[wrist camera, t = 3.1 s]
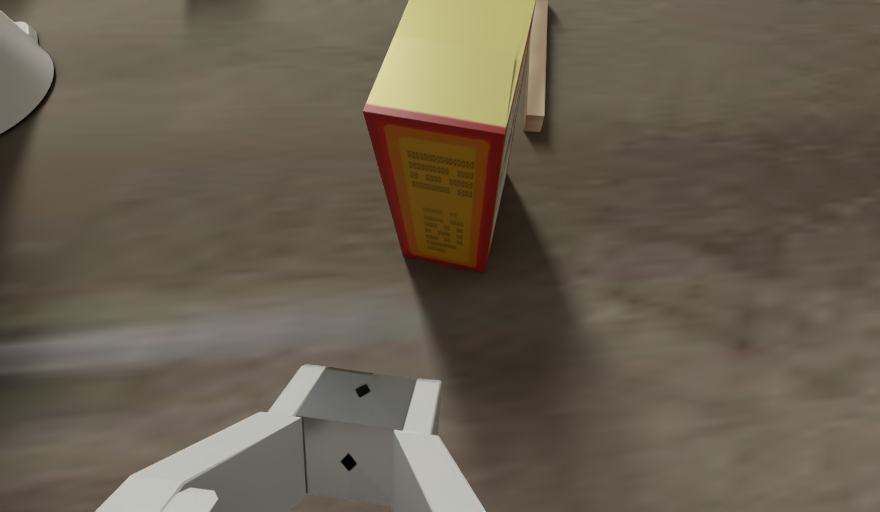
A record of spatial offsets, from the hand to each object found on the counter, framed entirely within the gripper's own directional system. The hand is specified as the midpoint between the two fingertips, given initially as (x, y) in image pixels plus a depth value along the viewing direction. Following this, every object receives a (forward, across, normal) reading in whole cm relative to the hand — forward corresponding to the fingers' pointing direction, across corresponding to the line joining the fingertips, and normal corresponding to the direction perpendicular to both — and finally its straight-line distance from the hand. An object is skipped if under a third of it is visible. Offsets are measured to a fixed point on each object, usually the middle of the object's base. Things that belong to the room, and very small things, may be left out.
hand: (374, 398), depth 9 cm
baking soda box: (+27, 0, -3) cm, 27 cm away
